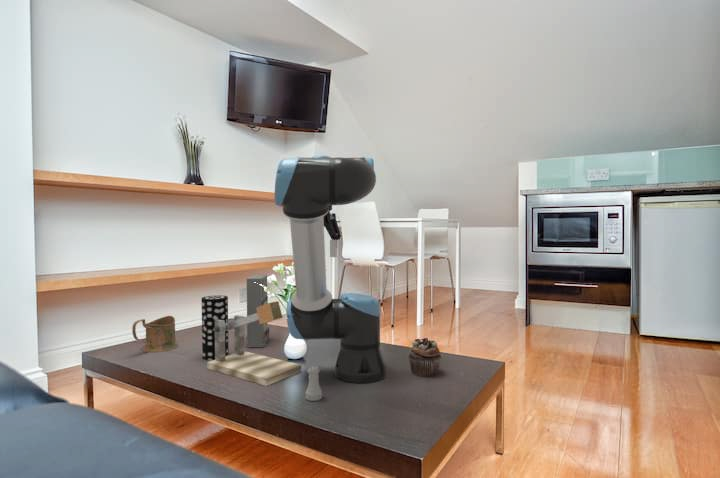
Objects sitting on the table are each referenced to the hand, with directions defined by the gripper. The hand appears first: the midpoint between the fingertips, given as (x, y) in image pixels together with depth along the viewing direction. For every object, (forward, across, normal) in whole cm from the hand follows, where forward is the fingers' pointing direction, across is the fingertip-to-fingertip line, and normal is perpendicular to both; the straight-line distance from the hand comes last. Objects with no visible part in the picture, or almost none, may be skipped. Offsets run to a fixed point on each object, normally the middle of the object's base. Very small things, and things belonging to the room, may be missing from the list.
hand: (322, 258), depth 153 cm
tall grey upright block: (+32, +10, -23) cm, 41 cm away
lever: (+19, +32, -2) cm, 37 cm away
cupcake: (+32, +6, +43) cm, 54 cm away
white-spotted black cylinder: (+32, +30, -22) cm, 49 cm away
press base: (+32, +32, -1) cm, 45 cm away
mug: (+32, +36, -47) cm, 68 cm away
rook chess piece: (+32, +38, +28) cm, 57 cm away
